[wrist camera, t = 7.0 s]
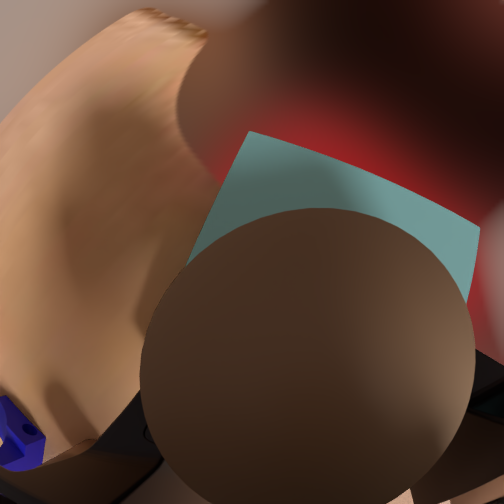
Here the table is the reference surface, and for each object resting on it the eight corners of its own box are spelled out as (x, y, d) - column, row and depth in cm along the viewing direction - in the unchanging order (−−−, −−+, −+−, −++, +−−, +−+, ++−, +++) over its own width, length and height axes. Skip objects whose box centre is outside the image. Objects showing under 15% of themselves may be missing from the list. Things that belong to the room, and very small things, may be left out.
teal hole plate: (451, 241, 17) (479, 227, 13) (376, 447, 14) (393, 471, 11) (254, 160, 19) (249, 130, 15) (163, 370, 17) (139, 381, 13)
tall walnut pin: (339, 323, 15) (515, 346, 2) (289, 379, 14) (316, 558, 2) (283, 274, 15) (299, 143, 3) (232, 331, 15) (85, 387, 3)
